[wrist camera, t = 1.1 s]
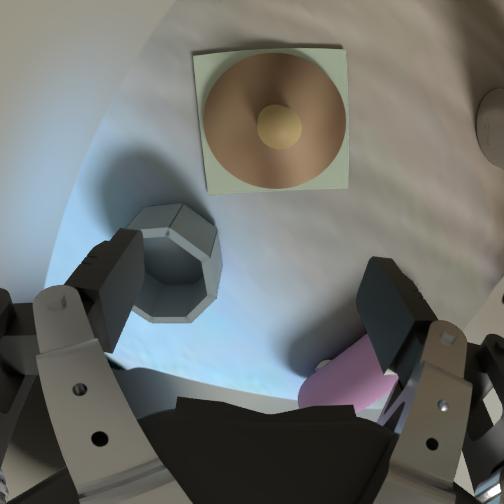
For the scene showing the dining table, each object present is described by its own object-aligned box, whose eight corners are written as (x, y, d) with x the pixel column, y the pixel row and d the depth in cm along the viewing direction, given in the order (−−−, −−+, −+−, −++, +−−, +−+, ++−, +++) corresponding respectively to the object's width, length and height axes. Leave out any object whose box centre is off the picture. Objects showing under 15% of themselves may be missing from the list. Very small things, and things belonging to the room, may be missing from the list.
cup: (214, 198, 29) (205, 224, 24) (226, 285, 34) (221, 322, 29) (119, 207, 30) (94, 233, 24) (141, 288, 35) (125, 322, 29)
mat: (344, 50, 22) (345, 49, 22) (346, 186, 28) (348, 188, 28) (194, 56, 23) (193, 56, 22) (209, 193, 29) (208, 195, 29)
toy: (396, 286, 35) (282, 377, 41) (427, 331, 27) (288, 427, 34) (423, 316, 37) (318, 396, 44) (451, 358, 30) (327, 442, 36)
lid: (340, 54, 22) (361, 46, 17) (342, 183, 28) (362, 206, 22) (199, 60, 22) (183, 52, 17) (213, 189, 28) (202, 214, 23)
